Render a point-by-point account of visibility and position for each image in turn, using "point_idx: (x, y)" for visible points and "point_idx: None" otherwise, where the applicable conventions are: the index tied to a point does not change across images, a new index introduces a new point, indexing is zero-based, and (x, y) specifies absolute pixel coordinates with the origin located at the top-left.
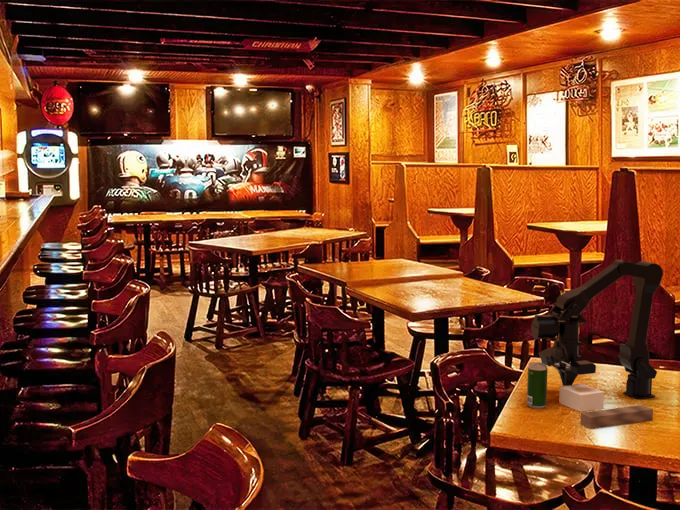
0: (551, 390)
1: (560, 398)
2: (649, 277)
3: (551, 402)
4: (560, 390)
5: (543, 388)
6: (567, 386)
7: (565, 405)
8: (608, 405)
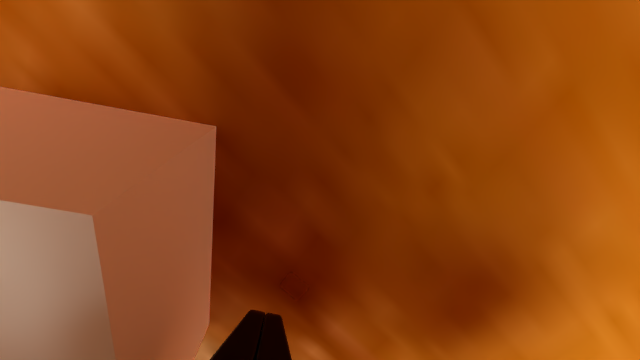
0: (495, 323)
1: (174, 137)
2: None
3: (262, 64)
4: (112, 177)
5: None
6: (57, 316)
7: (115, 108)
8: None
